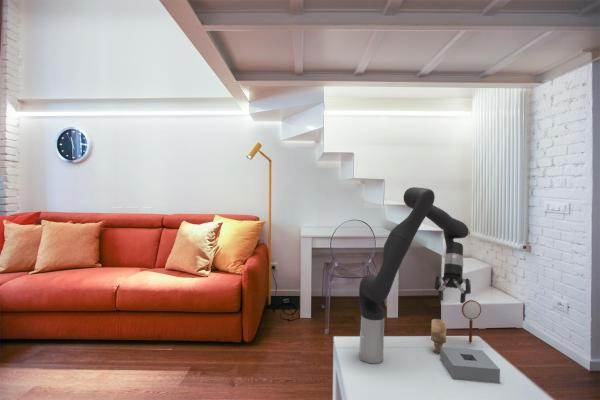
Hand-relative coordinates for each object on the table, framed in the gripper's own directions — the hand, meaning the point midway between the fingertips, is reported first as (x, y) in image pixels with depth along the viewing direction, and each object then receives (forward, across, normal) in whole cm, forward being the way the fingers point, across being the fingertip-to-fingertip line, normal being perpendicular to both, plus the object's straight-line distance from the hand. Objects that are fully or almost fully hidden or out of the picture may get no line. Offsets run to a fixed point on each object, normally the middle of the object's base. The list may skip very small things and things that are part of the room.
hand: (451, 301), depth 135 cm
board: (+25, +8, -1) cm, 26 cm away
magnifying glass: (+14, +2, +20) cm, 25 cm away
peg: (+21, -5, +4) cm, 22 cm away
